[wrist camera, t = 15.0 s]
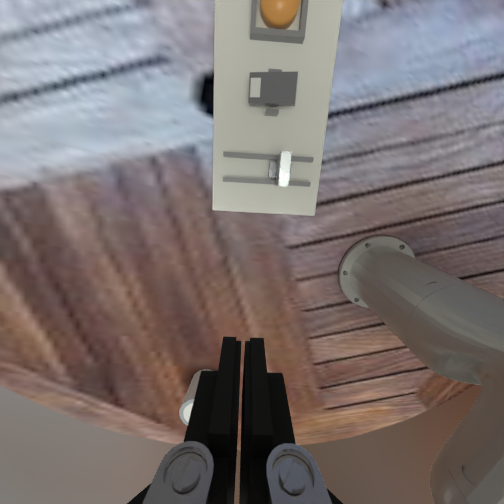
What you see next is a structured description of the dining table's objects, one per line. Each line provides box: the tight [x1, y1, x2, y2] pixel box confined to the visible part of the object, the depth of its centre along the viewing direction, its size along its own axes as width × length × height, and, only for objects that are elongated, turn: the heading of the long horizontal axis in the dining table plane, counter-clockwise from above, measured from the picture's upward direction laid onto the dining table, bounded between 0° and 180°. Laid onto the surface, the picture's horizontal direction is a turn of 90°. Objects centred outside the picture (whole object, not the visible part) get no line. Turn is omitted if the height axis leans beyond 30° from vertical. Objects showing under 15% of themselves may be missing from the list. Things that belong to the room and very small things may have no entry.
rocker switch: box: [248, 72, 298, 107], centre depth 29 cm, size 6×3×2 cm, turn 87°
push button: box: [260, 0, 301, 30], centre depth 27 cm, size 4×4×2 cm
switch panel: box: [213, 0, 343, 216], centre depth 31 cm, size 15×30×4 cm, turn 177°
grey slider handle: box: [268, 151, 292, 187], centre depth 31 cm, size 3×4×5 cm
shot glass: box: [179, 369, 213, 426], centre depth 43 cm, size 7×7×7 cm
